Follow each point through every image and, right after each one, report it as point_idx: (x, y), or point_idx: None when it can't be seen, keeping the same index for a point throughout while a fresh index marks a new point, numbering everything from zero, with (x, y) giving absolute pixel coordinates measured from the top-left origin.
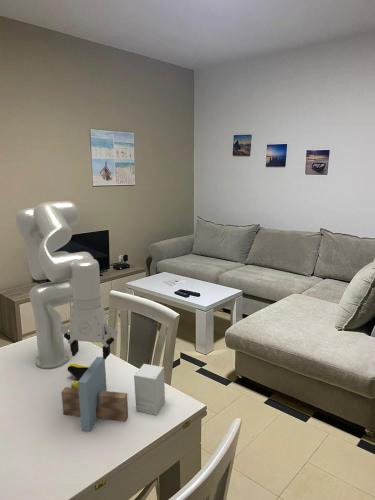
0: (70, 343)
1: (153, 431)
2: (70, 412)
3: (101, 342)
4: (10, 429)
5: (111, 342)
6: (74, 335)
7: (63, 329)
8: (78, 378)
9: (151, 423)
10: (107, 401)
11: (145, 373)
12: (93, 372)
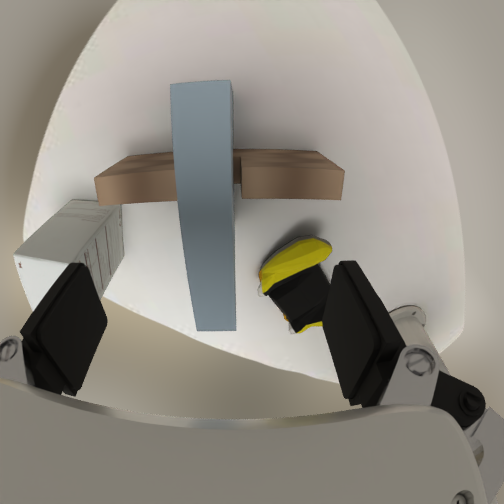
0: (409, 347)
1: (57, 145)
2: (296, 152)
3: (26, 381)
4: (417, 95)
5: None
6: (408, 489)
7: (501, 448)
8: (324, 287)
9: (70, 169)
10: (159, 165)
11: (46, 278)
12: (178, 199)
